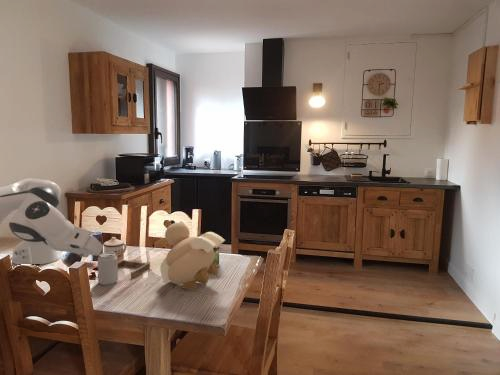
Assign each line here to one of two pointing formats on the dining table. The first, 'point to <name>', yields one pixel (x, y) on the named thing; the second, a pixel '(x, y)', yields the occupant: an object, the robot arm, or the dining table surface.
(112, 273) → the can
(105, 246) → the teacup with lid
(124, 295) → the dining table surface
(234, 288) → the dining table surface
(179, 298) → the dining table surface
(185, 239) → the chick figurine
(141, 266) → the frame
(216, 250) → the coffee can
